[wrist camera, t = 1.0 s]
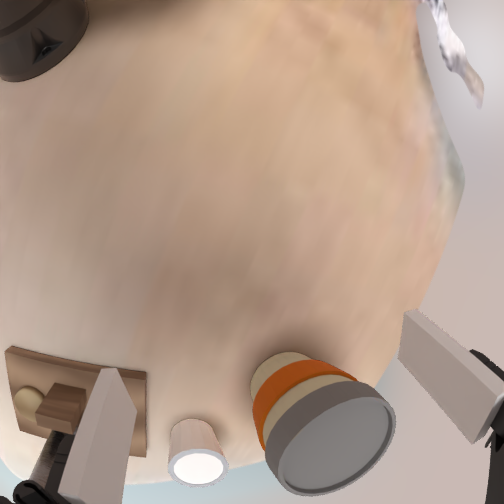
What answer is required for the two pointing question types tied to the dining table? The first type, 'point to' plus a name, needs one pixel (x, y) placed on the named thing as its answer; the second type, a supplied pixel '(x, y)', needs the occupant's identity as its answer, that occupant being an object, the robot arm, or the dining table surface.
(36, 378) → the lever stand
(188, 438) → the white cylinder
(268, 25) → the dining table surface
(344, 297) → the dining table surface
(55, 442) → the lever
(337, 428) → the reusable coffee cup
